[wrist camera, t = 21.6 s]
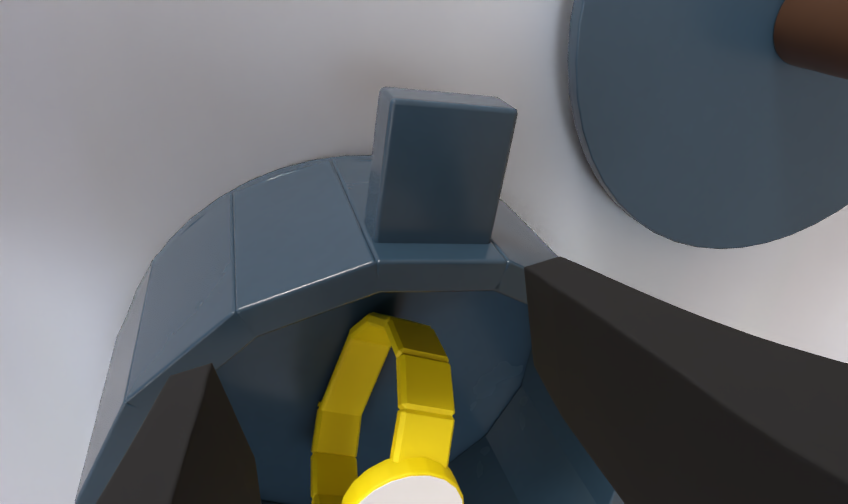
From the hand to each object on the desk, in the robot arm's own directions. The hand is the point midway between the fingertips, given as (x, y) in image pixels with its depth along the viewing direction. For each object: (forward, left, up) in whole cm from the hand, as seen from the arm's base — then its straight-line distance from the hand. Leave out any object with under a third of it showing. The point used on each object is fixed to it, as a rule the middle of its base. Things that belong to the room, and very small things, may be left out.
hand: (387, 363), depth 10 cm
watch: (+5, -3, -8) cm, 9 cm away
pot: (+5, -3, -8) cm, 10 cm away
